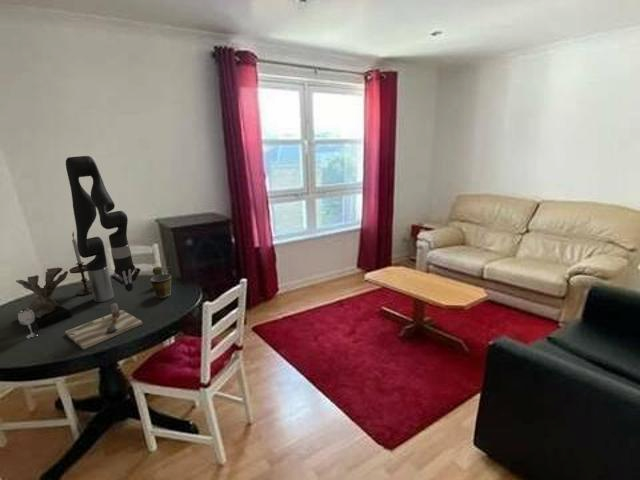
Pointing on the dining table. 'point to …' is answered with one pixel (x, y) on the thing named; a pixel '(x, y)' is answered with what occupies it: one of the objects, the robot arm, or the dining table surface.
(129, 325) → the board
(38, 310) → the coral
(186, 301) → the dining table surface
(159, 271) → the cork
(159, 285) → the ceramic cup
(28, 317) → the wineglass
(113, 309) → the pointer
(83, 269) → the candlestick
